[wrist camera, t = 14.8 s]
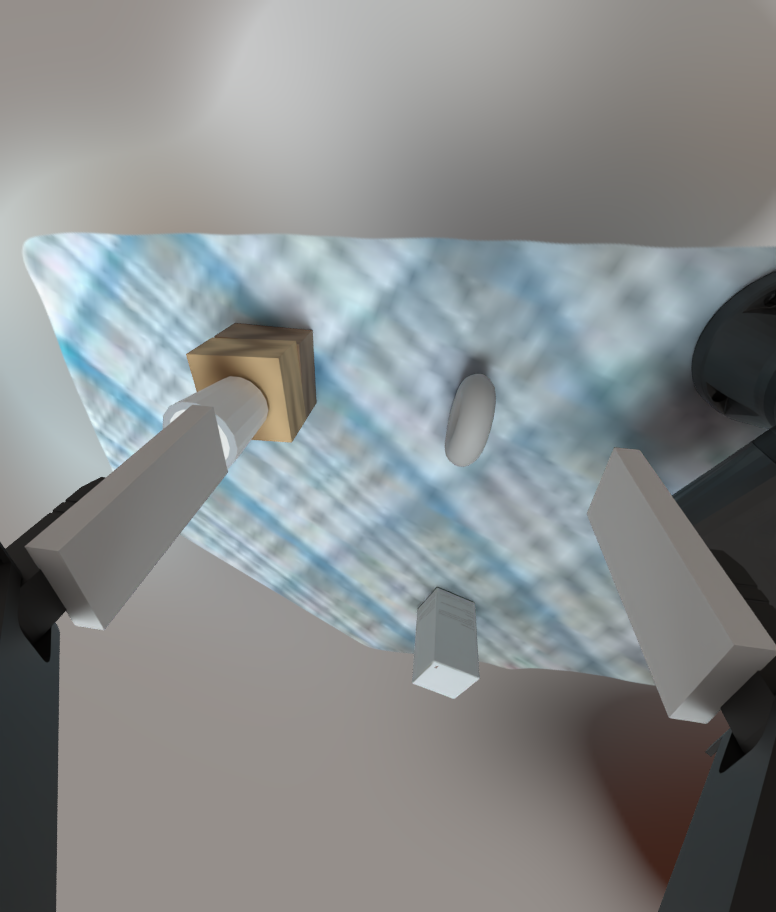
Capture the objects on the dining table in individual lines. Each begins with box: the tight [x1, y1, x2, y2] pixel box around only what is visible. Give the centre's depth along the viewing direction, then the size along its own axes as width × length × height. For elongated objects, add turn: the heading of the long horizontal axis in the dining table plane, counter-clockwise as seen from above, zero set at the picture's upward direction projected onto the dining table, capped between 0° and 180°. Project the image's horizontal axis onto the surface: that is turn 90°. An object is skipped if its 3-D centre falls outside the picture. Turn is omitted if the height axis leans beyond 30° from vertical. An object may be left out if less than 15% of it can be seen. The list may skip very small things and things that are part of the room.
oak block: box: [186, 338, 306, 442], centre depth 42 cm, size 9×9×5 cm
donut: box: [445, 374, 496, 467], centre depth 44 cm, size 10×3×10 cm, turn 169°
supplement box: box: [412, 588, 480, 699], centre depth 64 cm, size 7×7×13 cm
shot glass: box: [163, 376, 268, 469], centre depth 37 cm, size 7×7×7 cm
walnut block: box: [214, 323, 316, 419], centre depth 47 cm, size 9×9×5 cm
